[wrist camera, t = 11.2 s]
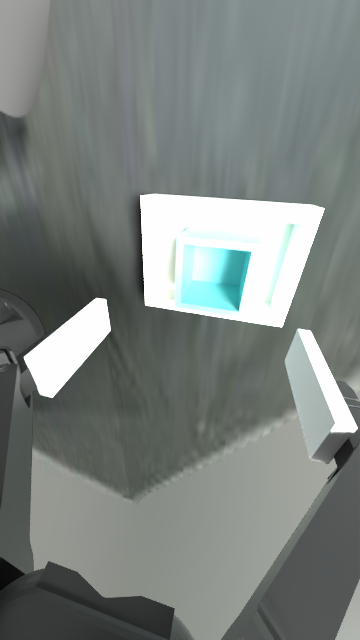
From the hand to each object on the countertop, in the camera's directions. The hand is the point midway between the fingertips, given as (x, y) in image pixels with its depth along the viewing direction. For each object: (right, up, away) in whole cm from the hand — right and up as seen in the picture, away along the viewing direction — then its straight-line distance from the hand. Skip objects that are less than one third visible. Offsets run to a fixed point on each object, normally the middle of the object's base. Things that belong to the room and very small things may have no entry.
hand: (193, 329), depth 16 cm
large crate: (+5, +10, +15) cm, 18 cm away
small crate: (+4, +9, +14) cm, 17 cm away
